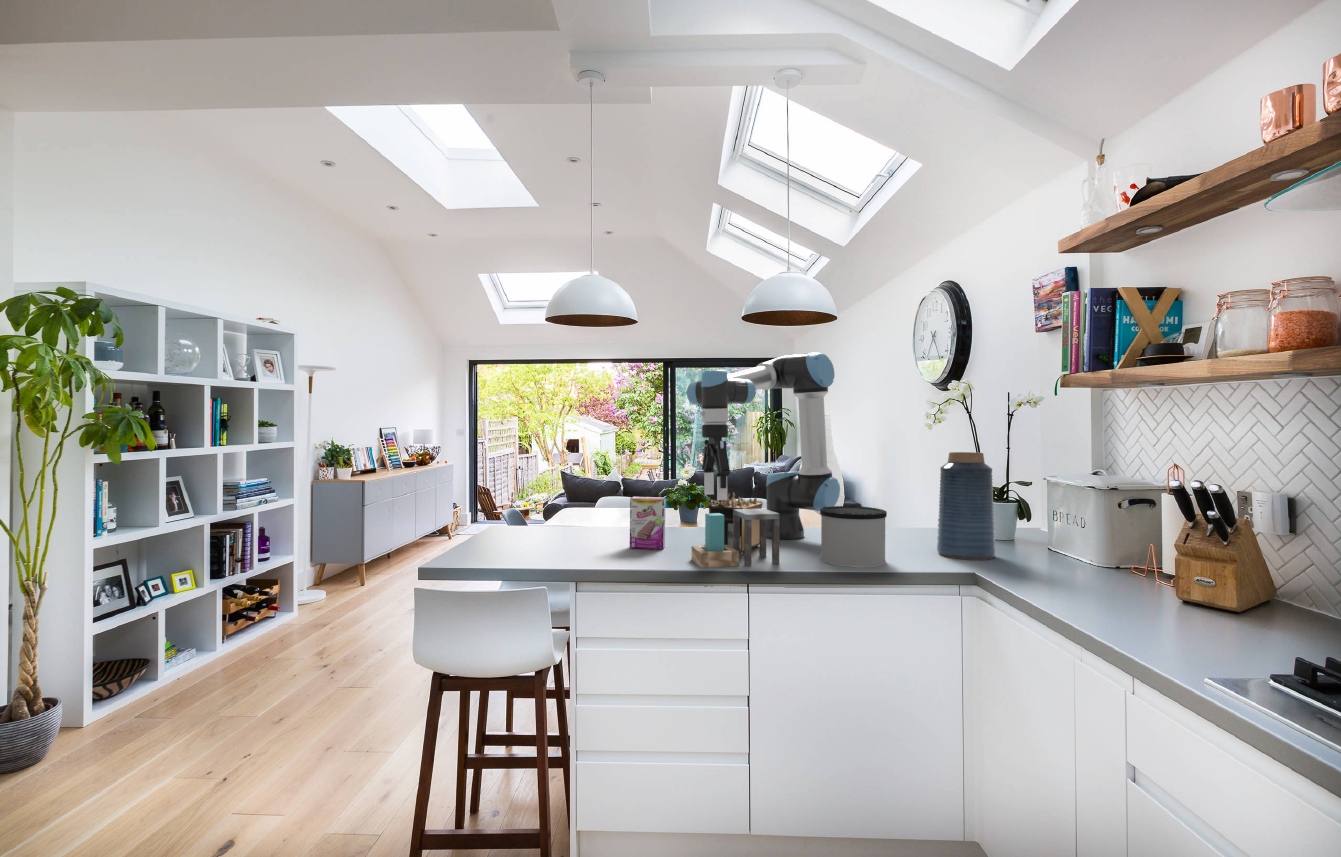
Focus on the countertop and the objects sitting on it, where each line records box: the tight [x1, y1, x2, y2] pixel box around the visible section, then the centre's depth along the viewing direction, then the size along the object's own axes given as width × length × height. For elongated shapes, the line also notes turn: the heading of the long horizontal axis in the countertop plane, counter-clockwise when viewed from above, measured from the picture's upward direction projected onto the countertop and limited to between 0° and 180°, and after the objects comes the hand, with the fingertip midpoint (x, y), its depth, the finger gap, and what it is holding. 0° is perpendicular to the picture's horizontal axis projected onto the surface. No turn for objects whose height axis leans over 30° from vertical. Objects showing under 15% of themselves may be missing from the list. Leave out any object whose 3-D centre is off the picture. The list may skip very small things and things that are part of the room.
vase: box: [936, 451, 996, 561], centre depth 196 cm, size 16×16×32 cm
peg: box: [704, 512, 724, 552], centre depth 185 cm, size 4×4×14 cm
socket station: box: [691, 508, 780, 568], centre depth 186 cm, size 23×12×14 cm, turn 102°
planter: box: [703, 491, 764, 557], centre depth 205 cm, size 25×25×19 cm
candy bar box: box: [629, 496, 666, 550], centre depth 207 cm, size 11×5×16 cm, turn 84°
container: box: [819, 505, 888, 568], centre depth 188 cm, size 19×19×15 cm
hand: (715, 497), depth 185 cm, fingers open, 13 cm apart
